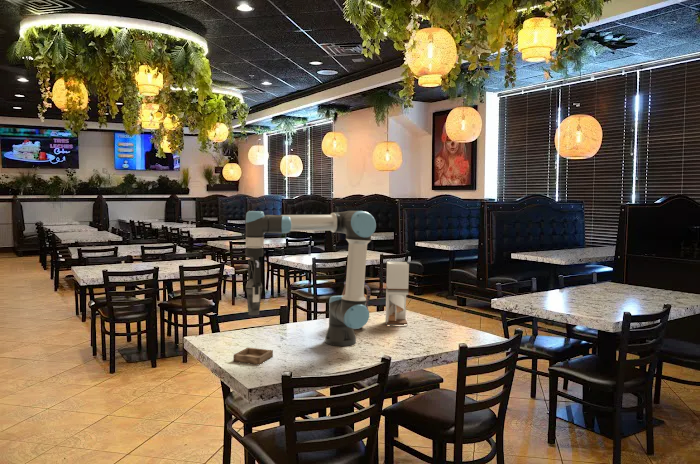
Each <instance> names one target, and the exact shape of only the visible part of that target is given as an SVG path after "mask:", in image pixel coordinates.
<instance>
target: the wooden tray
mask: <svg viewBox="0 0 700 464" xmlns="http://www.w3.org/2000/svg"><path fill="white" fill-rule="evenodd" d="M273 354H274V350H273V349H265V348H255V347H246V348H244V349H242V350H240V351H239V352H238V351H237V352H236V353H233V361H232V362H234V363H239V362H240V363H241V364H248V363H250V364H249V365H256V364H259V365H258V366H260V364H261V365H262V364H264V363H266V362H267V361H268V360H270V359H272V358H274V355H273ZM265 361H266V362H265ZM263 362H264V363H263Z"/></svg>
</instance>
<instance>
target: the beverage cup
mask: <svg viewBox="0 0 700 464" xmlns="http://www.w3.org/2000/svg"><path fill="white" fill-rule="evenodd" d="M252 285H254V284H253V278H252V279H250V280H249V281H248V280H247V282H246V285H245V292H246V299H247V303H246V304H247V311H248V316H259V315H260V311H261V302H262V301H261V299H262V291H263V284H262V282H261V286H260V294H259V302H253V287H252Z"/></svg>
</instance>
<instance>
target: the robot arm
mask: <svg viewBox="0 0 700 464" xmlns="http://www.w3.org/2000/svg"><path fill="white" fill-rule="evenodd" d="M376 228H377V223H376V219H375V217H374V216H373V215H372V214H371V213H369V212H368V211H363V210H347V211H346V210H345V211H341V212H339V211H338V212H331V213H330V214H265V212H264V211H261V210H260V211H259V210H257V211H256V210H249V211H247V212H246V213H245V239H244V242H245V256H246V257H248V258H249V259H248V260H247V262H248V265H247V282H248V281H249V280H250V279H252V278H253V284H254V285H252V287H253V302H259V294H260V286H261V283H262V277H261V275H262V271H261V267H262V262H261V261H260V260H259V259H260V257H261V258H262V257H264V248H263V247H264V244H265V243H264V239H265V238H264V234H288V233H290V232H306V231H307V232H312V231H313V232H315V231H316V232H317V231H318V232H319V231H325V232H326V231H330V232H331V233H340V234H345V240H346V241H347V243H348V249H347V250H348V252H347V265H346V276H345V278H346V279H345V281H346V290H345V295H342V294H341V295H332V296H330V297H329V302H328V328H327V331H326V334H325V337H324V338H325V339H324V342H325V344H327V345H330V346H335V347H336V346H337V347H347V346H352V345H355V344H357V337H356V333H355V331H354V330H359V329H361V328H363V327H364V326H365V325H366V324H367V323H368V322H369V319H370V311H369V308H368V309H367V307H366V296H365V297H364V294H365V288H364V283H365V281H366V280H365V279H366V278H365V277H366V264H367V250H368V244H369V243H370V242H372V235H373V234H374V233H375V231H376ZM358 328H359V329H358Z"/></svg>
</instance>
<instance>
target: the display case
mask: <svg viewBox="0 0 700 464" xmlns="http://www.w3.org/2000/svg"><path fill="white" fill-rule="evenodd" d="M409 271H410V264H409V263H408V262H407V261H386V281H385V282H386V285H385V286H386V288H385V291H386V292H385V324H387V325H404V324H407V325H408V321H407V319H406V318H407V317H406V314H407V313H406V312H407V309H406V308H407V296H409V283H410V282H409V279H410V277H409V276H410V275H409V273H410V272H409ZM387 325H386V326H387Z"/></svg>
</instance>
